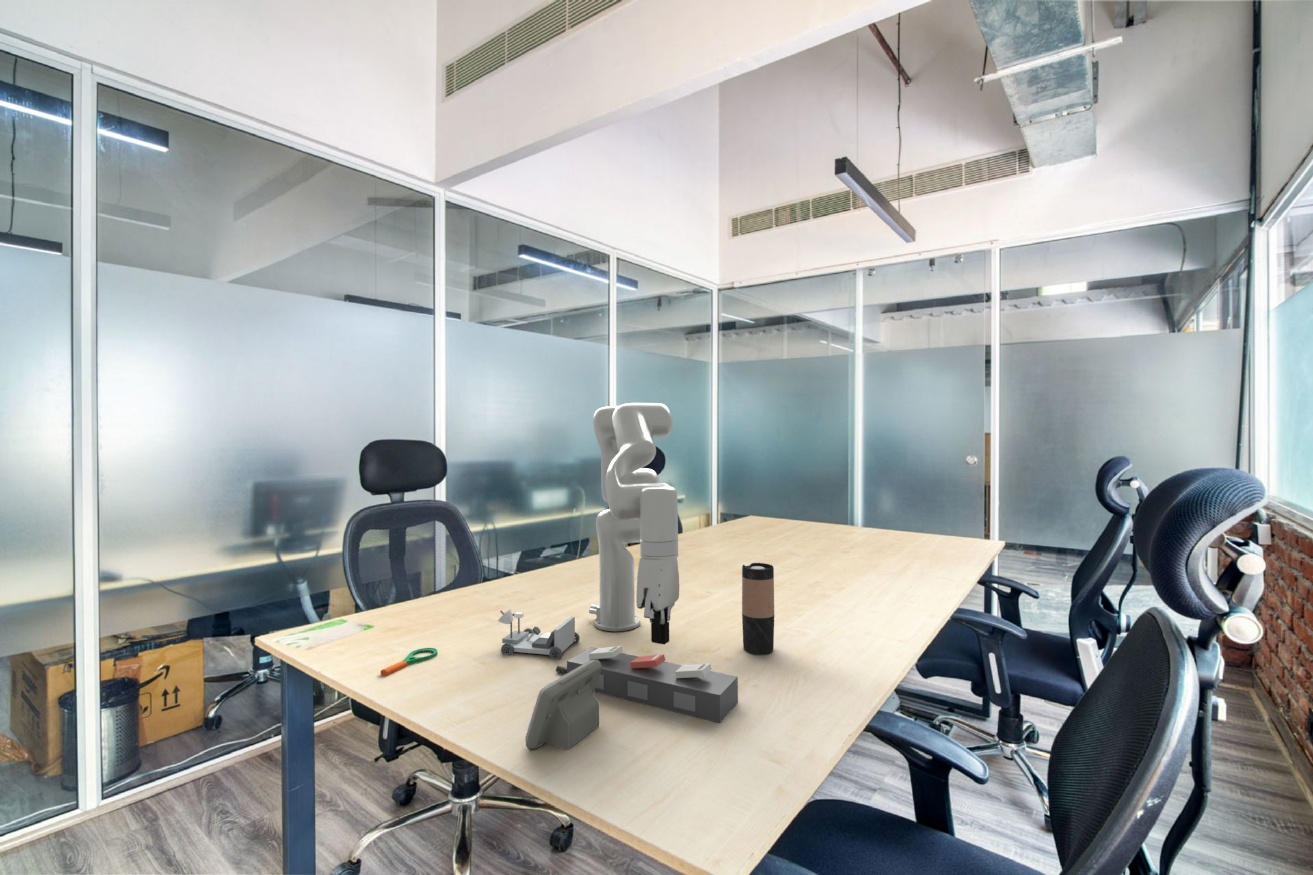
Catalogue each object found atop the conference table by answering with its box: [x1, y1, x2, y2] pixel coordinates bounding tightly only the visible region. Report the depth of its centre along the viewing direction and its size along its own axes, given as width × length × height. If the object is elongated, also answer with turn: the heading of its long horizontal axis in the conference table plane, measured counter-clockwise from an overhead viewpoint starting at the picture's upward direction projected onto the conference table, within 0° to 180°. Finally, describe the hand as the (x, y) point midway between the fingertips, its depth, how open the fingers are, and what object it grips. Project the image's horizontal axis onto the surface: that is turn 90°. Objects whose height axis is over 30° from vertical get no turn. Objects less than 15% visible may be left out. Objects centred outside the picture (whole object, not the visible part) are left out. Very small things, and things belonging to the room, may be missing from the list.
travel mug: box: [741, 562, 775, 656], centre depth 139 cm, size 8×8×20 cm
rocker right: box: [675, 663, 712, 678], centre depth 111 cm, size 6×4×1 cm, turn 61°
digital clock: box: [525, 660, 601, 751], centre depth 101 cm, size 16×9×11 cm, turn 139°
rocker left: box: [589, 645, 624, 660], centre depth 121 cm, size 6×4×1 cm, turn 61°
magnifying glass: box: [380, 647, 438, 677], centre depth 132 cm, size 15×6×2 cm, turn 160°
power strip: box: [555, 646, 739, 724], centre depth 117 cm, size 40×9×5 cm, turn 61°
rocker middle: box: [630, 653, 666, 669], centre depth 116 cm, size 6×4×1 cm, turn 62°
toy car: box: [497, 609, 581, 661], centre depth 141 cm, size 18×10×12 cm
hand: (660, 642), depth 114 cm, fingers closed
